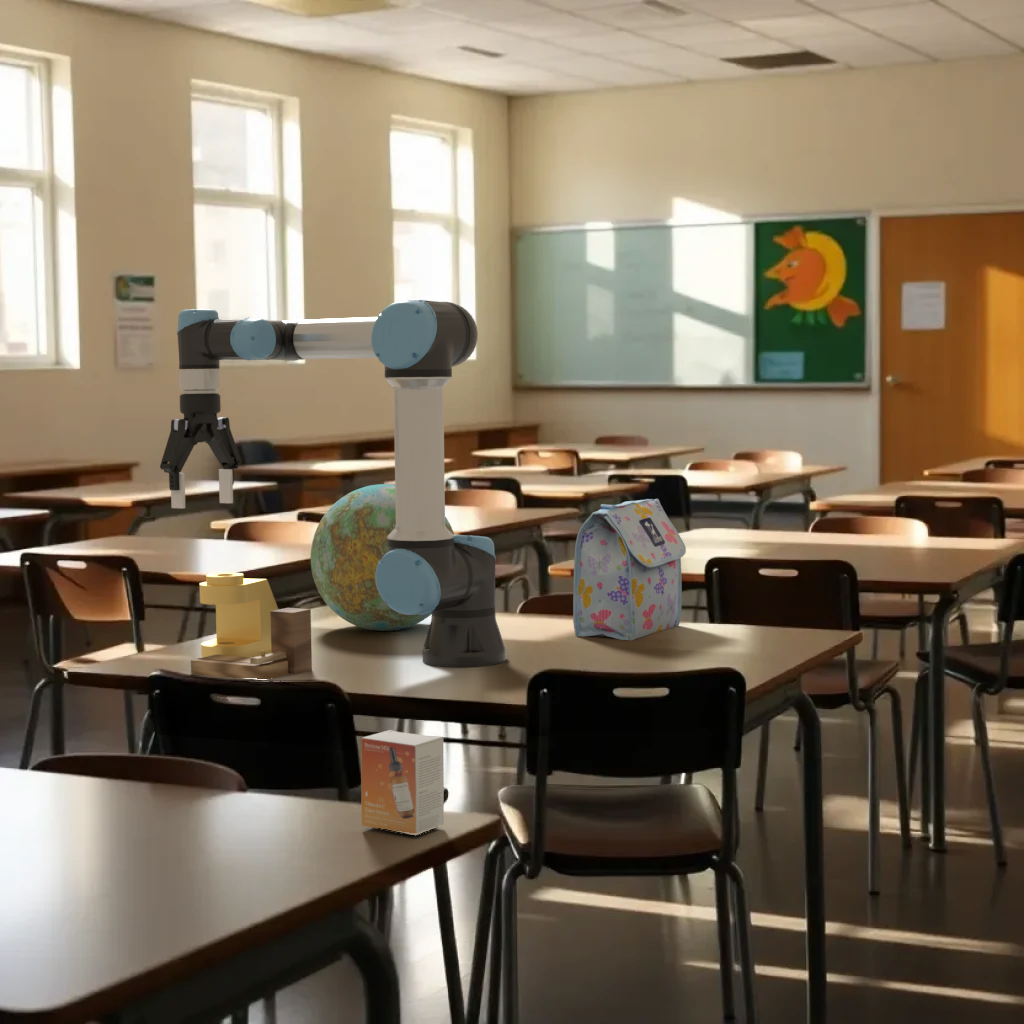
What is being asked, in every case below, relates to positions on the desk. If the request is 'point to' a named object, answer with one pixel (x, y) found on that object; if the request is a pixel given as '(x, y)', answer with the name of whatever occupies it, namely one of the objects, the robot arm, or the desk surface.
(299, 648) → the taupe upright block
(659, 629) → the lunch bag
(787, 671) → the desk surface
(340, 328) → the robot arm
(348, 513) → the decorative globe
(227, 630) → the clamp
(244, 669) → the board
